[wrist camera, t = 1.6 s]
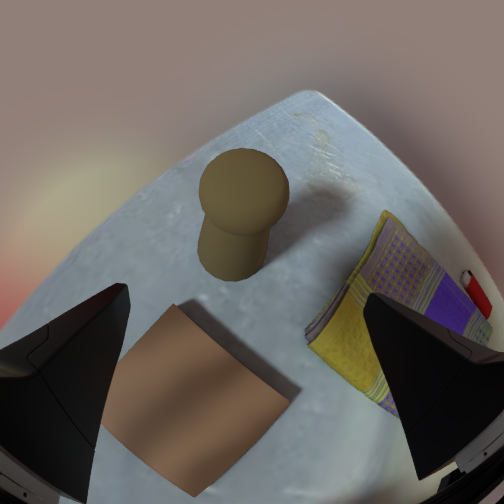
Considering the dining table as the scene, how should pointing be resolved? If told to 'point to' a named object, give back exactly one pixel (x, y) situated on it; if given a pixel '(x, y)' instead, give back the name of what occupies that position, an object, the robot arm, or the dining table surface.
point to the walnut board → (187, 403)
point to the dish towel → (401, 290)
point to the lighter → (476, 293)
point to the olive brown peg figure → (239, 211)
